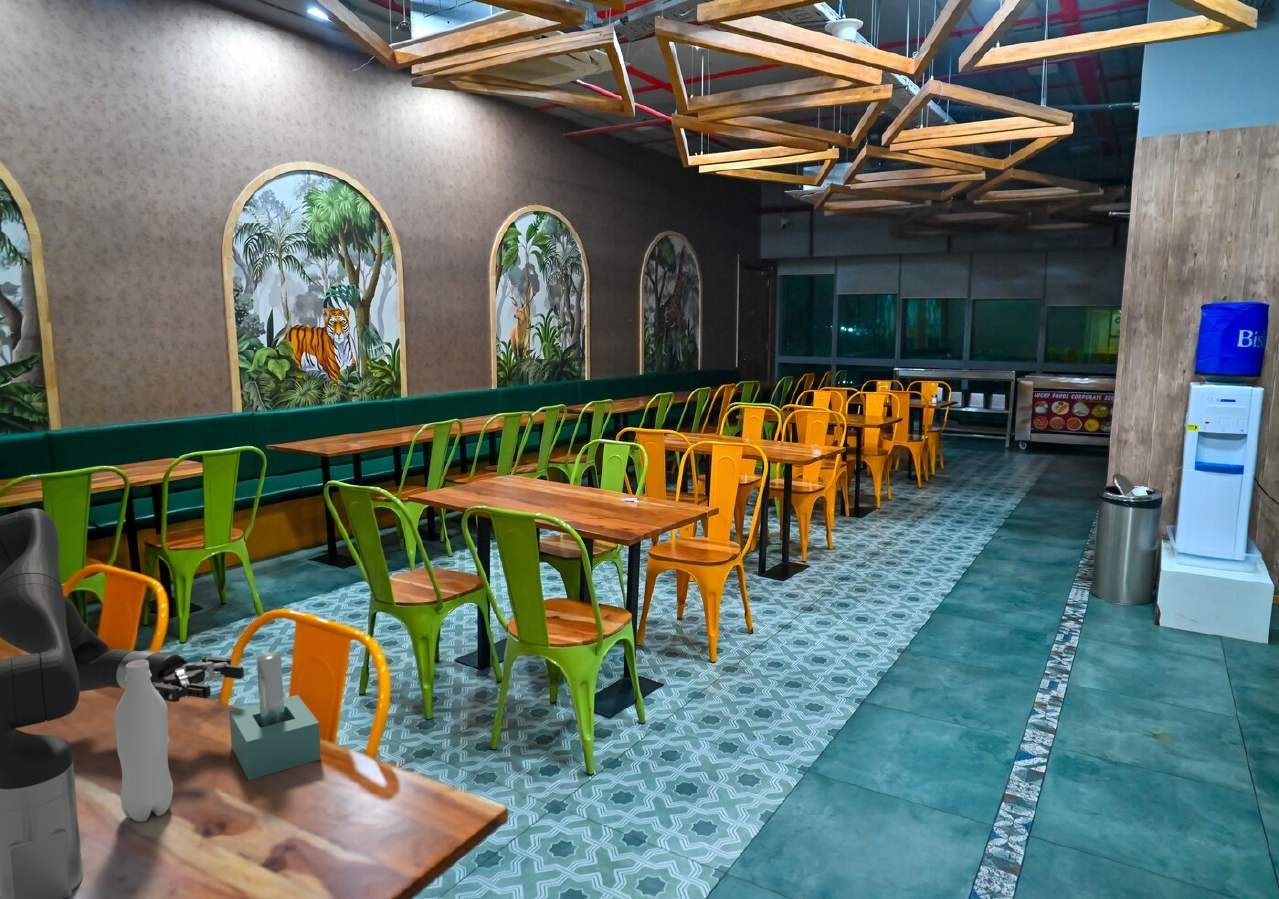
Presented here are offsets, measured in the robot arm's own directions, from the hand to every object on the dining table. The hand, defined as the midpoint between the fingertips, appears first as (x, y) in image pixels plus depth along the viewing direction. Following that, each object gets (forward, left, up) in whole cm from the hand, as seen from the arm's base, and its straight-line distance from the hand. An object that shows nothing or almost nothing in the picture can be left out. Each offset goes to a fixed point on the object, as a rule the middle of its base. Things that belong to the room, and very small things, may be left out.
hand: (226, 682), depth 151 cm
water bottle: (-15, +15, -13) cm, 25 cm away
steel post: (-7, -6, -12) cm, 15 cm away
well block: (-7, -6, -12) cm, 16 cm away
